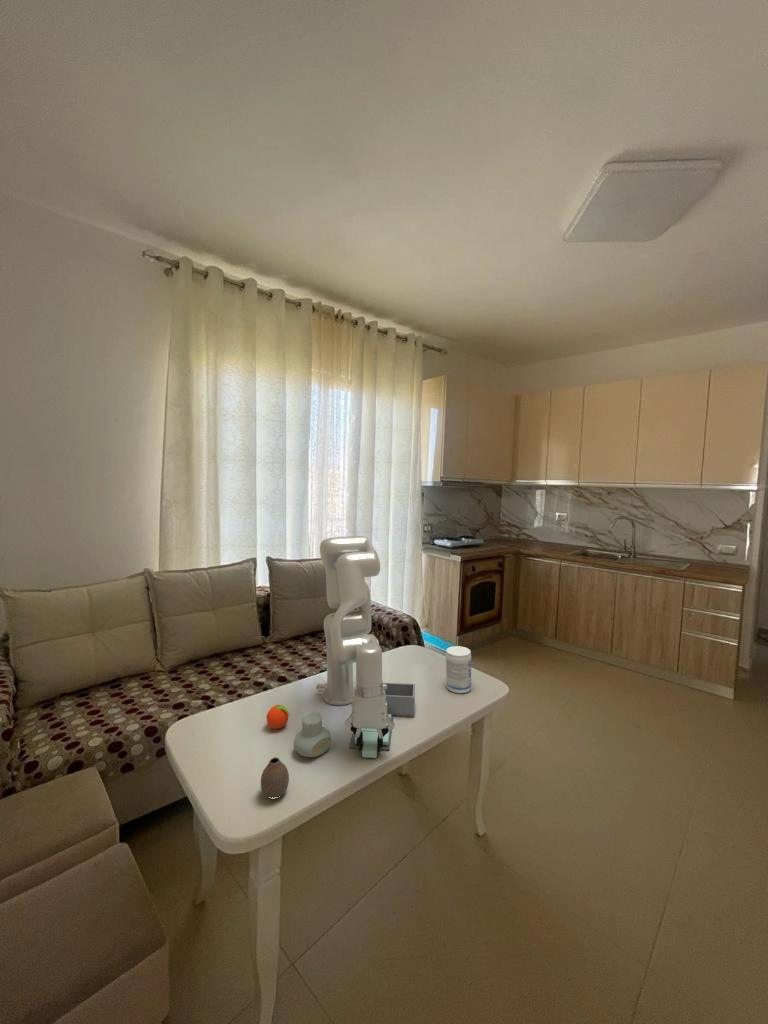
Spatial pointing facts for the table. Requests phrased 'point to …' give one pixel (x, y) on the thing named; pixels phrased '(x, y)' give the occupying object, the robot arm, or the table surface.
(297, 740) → the air freshener
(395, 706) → the tub
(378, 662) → the robot arm
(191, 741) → the table surface
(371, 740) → the lid
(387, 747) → the mat
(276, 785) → the vase
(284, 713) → the clementine
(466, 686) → the supplement tub
